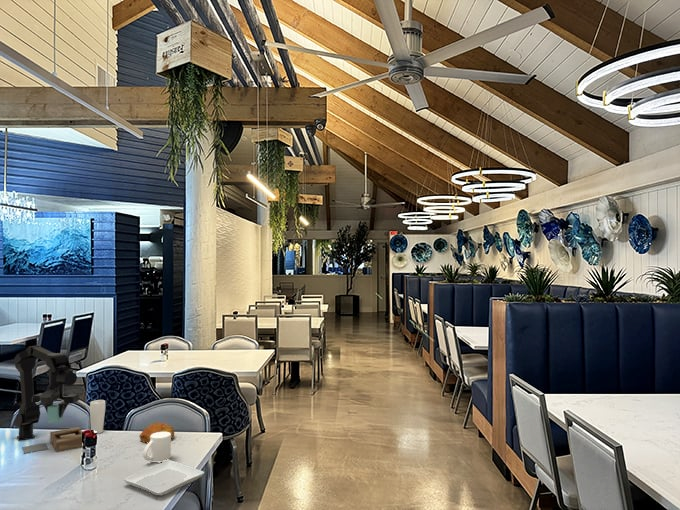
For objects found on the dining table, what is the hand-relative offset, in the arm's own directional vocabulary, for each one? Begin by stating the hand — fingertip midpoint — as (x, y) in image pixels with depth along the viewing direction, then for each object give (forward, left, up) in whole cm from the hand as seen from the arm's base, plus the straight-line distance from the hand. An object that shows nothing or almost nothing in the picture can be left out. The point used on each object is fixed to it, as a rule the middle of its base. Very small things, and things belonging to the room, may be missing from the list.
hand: (55, 417), depth 217 cm
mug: (+45, +30, -13) cm, 56 cm away
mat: (-1, -7, -13) cm, 15 cm away
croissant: (+18, +39, -13) cm, 45 cm away
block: (0, 0, -2) cm, 2 cm away
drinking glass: (-8, +19, -13) cm, 25 cm away
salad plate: (+68, +26, -13) cm, 74 cm away
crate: (+1, +5, -13) cm, 14 cm away
